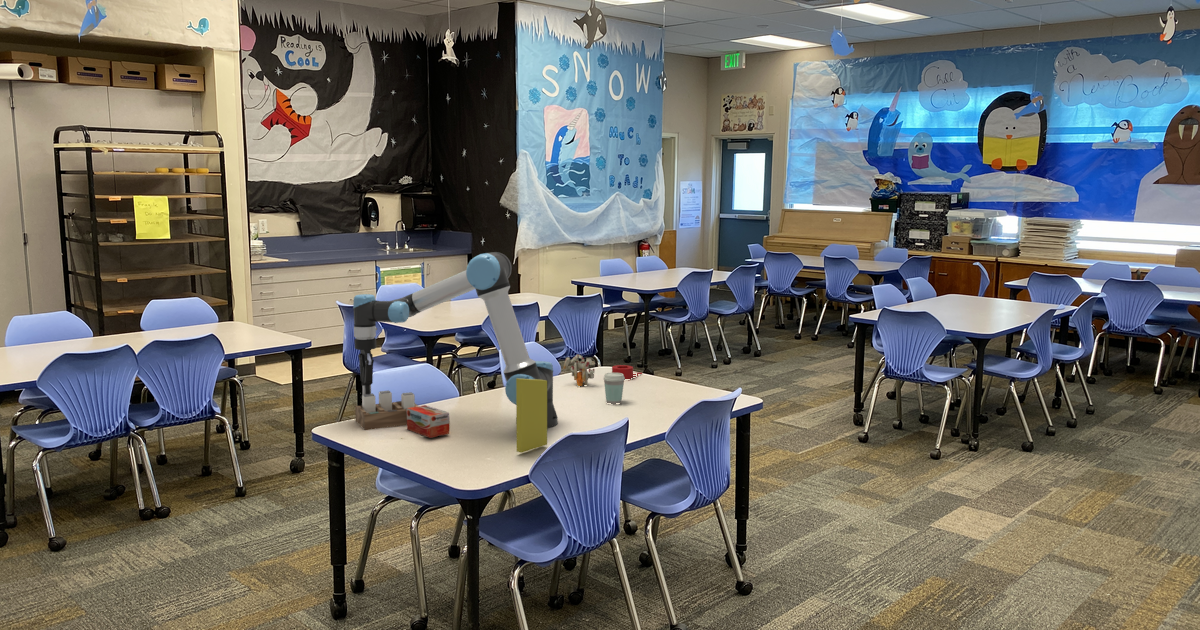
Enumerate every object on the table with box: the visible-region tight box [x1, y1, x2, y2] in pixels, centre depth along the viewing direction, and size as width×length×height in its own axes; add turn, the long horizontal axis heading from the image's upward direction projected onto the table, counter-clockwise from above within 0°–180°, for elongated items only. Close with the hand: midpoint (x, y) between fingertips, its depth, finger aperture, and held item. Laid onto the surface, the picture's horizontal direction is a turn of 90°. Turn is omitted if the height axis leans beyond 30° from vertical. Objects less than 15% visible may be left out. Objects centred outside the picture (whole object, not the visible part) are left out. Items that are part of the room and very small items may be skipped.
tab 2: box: [378, 389, 393, 411], centre depth 312 cm, size 3×4×7 cm
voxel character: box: [562, 354, 596, 387], centre depth 366 cm, size 11×10×15 cm
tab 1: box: [361, 392, 377, 413], centre depth 307 cm, size 3×4×7 cm
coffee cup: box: [603, 372, 625, 404], centre depth 340 cm, size 8×8×12 cm
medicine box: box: [406, 404, 451, 439], centre depth 298 cm, size 15×8×8 cm, turn 45°
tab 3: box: [400, 392, 416, 409], centre depth 310 cm, size 3×4×7 cm
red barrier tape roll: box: [611, 364, 643, 379], centre depth 386 cm, size 18×9×7 cm, turn 140°
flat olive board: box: [515, 378, 548, 454], centre depth 279 cm, size 12×2×24 cm, turn 141°
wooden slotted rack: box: [354, 400, 419, 431], centre depth 310 cm, size 14×20×6 cm
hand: (367, 402), depth 310 cm, fingers closed
